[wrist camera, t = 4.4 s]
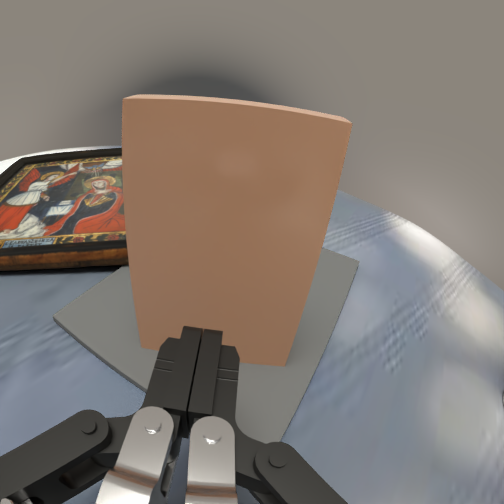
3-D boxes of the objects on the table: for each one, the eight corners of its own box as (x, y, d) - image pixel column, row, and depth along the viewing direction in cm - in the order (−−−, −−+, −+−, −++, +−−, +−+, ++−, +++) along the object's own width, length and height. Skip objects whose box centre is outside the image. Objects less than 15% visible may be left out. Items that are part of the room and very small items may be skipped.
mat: (54, 321, 21) (52, 315, 21) (212, 213, 40) (212, 208, 40) (268, 460, 15) (270, 457, 15) (357, 265, 34) (359, 261, 34)
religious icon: (3, 171, 46) (1, 158, 45) (166, 153, 60) (167, 140, 58) (-83, 297, 18) (-93, 275, 16) (221, 264, 31) (223, 238, 29)
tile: (284, 366, 21) (352, 123, 12) (141, 347, 20) (122, 98, 12) (283, 345, 23) (341, 116, 14) (148, 327, 22) (138, 94, 14)
